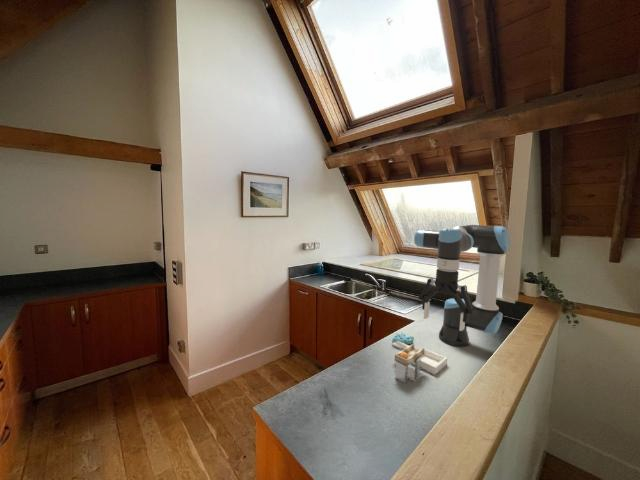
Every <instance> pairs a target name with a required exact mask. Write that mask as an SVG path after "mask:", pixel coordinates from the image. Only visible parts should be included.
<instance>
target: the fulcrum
mask: <svg viewBox="0 0 640 480" xmlns="http://www.w3.org/2000/svg"><path fill="white" fill-rule="evenodd" d="M395 362H396V361H395ZM414 362H415V365H414V367H415V368H414V369H413V368H411V367H410V366H409V365H408V366H407V367H406V366H404V365H402V364H400V363H398V362H396V363H395V370H394V373H395V374H394V377H395V379H397V380H398V381H400V382H402V383H404V384H405V383H407V382H408V380H409V381H411V382H412V383H416V382H418V381H419V379H421V378H422V377H423V376H424V374H423V373H421V368H420V362H421V359H419V358H418V359H417V360H415V361H414Z"/></svg>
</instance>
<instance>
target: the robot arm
mask: <svg viewBox="0 0 640 480" xmlns="http://www.w3.org/2000/svg"><path fill="white" fill-rule="evenodd" d="M413 238H414V239H413V242H414V245H415V246H416V247H420V248H424V249H425V248H426V249H433V250H437V262H436V268H437V269H436V272H435V273H436V274H435V279H434V278H433V277H432V278H428V279H426V280H427V281H426V285H425V286H424V288H423V289H422V291H421V293H420V294H419V296H418V300H421V301H422V310H423V319H424V320H426V319H428V318H429V317H430V304H431V302H430V301H429V300H431V299H432V297H434V296H435V295H436V294H437V293H440V294H445V295H448V296H451V298H448V299H446V300H445V302H444V307H443V320H442V321H443V323H442V325H441V328H440V330H439V332H438V338H439V340H440V341H441V342H443V343H445V344H447V345H450V346H453V347H467V346H469V344H470V337H469V333H468V330H467V328H471V329H473V330H477V331H479V332H483V333H487V334H490V335H495V334H496V333H497V332H498V331H499V329H500V326H501V324H502V322H503V321H502V320H503V312H501V311H500V308H499V306H498V305H497V304H496V303H497V294H498V284H499V275H500V265H501V258H502V257H503V256H505V253H506V252H508V251H509V250H510V249H511V234H510V231H509V229H508V228H507V227H505V226H501V225H499V226H498V225H481V224H479V225H478V224H477V225H476V224H469V225H468V224H466V225H461V226H460V225H459V226H454V227H452V228H445V227H443V228H441V229H436V230H435V229H434V230H433V229H432V230H425V229H418V230H417V231H416V232H415V234H414V237H413ZM472 248H475V249H476V248H477V249H476V252H477V253H478V255H479V265H478V276H477V284H476V285H477V286H476V296H475V301H473V302H472V299H471V297H470V296H469V293H468V286H467V285H466V284H464V285H459V270H460V256H461V252H462V253H464V252H467V251H469V250H471V249H472ZM433 285H434V286H435V288H434V289H433V290H432V291H431V292H430V293H429V294H427V293H428V292H429V291H430V289H431V288H432V286H433ZM457 290H459V292H461V296H462V297H461V296H460V295H459V292H458V291H457Z"/></svg>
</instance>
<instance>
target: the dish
mask: <svg viewBox="0 0 640 480" xmlns="http://www.w3.org/2000/svg"><path fill="white" fill-rule="evenodd" d="M422 348H423V347H421V348H420V349H419V350H421V349H422ZM419 359H421V362H420V370H423V371H426V372H428V373H430V374H432V375H434V376H436V375H437V374H438V373H439V372H441V371H442V370H443V369H444V368H446V366H448V357H447V356H444V355H441V354H438V353H436V352H435V351H432V350H430V349H428V348H425V351H424V355H422V356H421V357H419ZM410 365H413V366H415V362H412V363H411V364H410Z"/></svg>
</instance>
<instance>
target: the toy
mask: <svg viewBox="0 0 640 480" xmlns="http://www.w3.org/2000/svg"><path fill="white" fill-rule="evenodd" d="M414 338H415V337H414V336H412V335H409V336H406V334H405V333H402V332H401V333H396V334H395V335H394V336H393V337H392V339H391V344H392V343H394V342H396V341H399V342H402V343H404V344H406V345H408V344H410V345H411V344H414Z"/></svg>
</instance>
